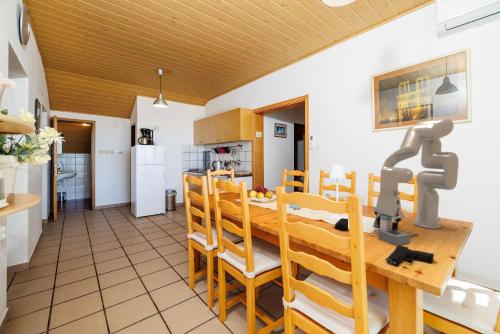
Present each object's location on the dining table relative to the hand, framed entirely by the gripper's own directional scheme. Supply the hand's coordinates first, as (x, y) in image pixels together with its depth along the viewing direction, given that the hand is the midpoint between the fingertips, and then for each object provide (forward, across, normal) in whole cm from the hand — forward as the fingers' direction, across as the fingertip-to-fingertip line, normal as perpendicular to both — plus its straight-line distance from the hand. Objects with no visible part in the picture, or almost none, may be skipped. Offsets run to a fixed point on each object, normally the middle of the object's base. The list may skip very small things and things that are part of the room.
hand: (387, 227), depth 110 cm
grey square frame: (+4, +1, 0) cm, 4 cm away
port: (+4, -6, +4) cm, 8 cm away
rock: (+4, +12, -13) cm, 18 cm away
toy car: (+5, +18, +9) cm, 20 cm away
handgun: (+5, -21, +18) cm, 28 cm away
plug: (+4, +1, 0) cm, 4 cm away
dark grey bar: (+4, -6, -8) cm, 11 cm away
